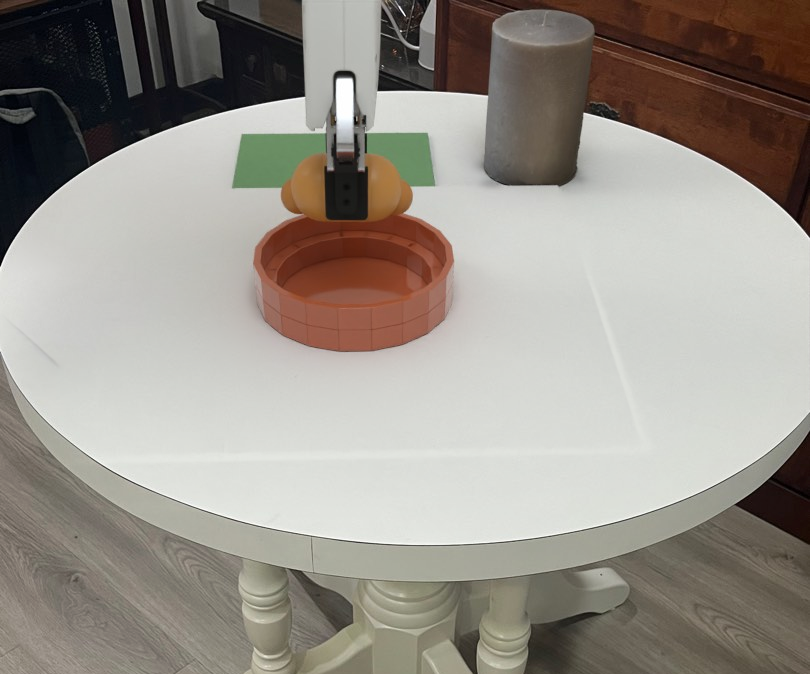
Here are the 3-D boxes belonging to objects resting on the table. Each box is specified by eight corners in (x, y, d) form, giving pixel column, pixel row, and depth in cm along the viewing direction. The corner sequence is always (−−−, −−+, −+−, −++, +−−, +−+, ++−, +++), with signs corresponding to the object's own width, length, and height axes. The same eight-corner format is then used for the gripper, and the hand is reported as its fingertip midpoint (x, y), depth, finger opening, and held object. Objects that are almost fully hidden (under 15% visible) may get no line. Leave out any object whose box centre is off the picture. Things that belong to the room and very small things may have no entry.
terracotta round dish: (252, 359, 78) (246, 309, 75) (264, 254, 89) (260, 207, 86) (458, 356, 79) (461, 306, 75) (444, 252, 90) (446, 205, 87)
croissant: (279, 233, 77) (275, 170, 73) (282, 202, 80) (278, 141, 77) (414, 234, 77) (416, 171, 74) (411, 203, 81) (413, 143, 77)
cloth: (232, 193, 98) (231, 189, 97) (242, 137, 107) (241, 133, 107) (435, 191, 98) (435, 187, 98) (427, 136, 108) (427, 132, 107)
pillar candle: (596, 170, 102) (620, 12, 91) (531, 199, 97) (549, 37, 87) (526, 139, 107) (541, -14, 96) (462, 166, 102) (470, 8, 92)
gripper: (290, -99, 70) (302, 152, 83) (278, -24, 58) (294, 256, 71) (396, -97, 71) (391, 153, 84) (405, -22, 59) (398, 256, 72)
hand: (346, 198), depth 77 cm, fingers closed on croissant, 5 cm apart
